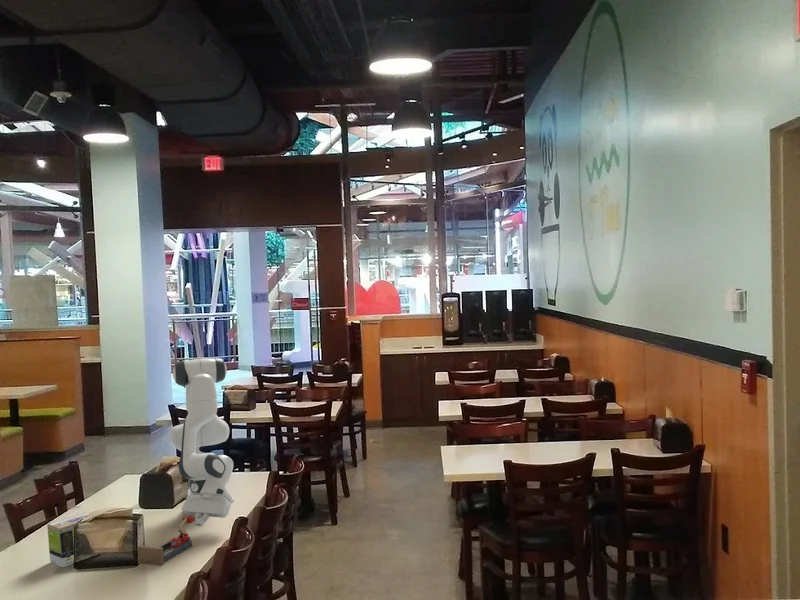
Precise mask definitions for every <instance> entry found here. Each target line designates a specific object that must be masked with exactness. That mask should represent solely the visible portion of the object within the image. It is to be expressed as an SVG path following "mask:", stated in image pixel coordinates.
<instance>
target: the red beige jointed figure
mask: <svg viewBox="0 0 800 600" xmlns="http://www.w3.org/2000/svg"><path fill="white" fill-rule="evenodd" d="M193 522H195V516H191V515H186V516H183V517H182V522H181V523H180V524H179V525H178V526H177V529H176V530H177V531H178V532H179V535H178V536H177V537H176V538H175V537H173V538H172V540H171V539H170V540H171V548H170V550H172V549H174V548H175V547H177V546H179V545H181V544H182V543H184V542H186V541H188V540H191V537H190V536H189V534H188V533H187V532H186V530H185V528H184V526H185V525H186V524H192V523H193Z"/></svg>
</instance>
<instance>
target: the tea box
mask: <svg viewBox="0 0 800 600" xmlns="http://www.w3.org/2000/svg"><path fill="white" fill-rule="evenodd" d="M90 515H92V514H90V513H87V512H84V513H80V514H77V515H74V516H70V517H68V518H67V517H66V518H63V519H61V520H57V521H54V522H51V523H48V524H47V527H46V528H47V538H48V548H49V549H48V550H49V551H48V553H49V561H50V563H51V562H52V563H51V564H53V563H54V564H53V565H55V564H56V565H55V566H57V565H58V566H57V567H60V568H62V567H63V568H65V567H69V566H71V565H74V564H73V559H74V526H75V524H76V523H77V522H78V521H80V520H81V519H84V518H86V517H88V516H90Z"/></svg>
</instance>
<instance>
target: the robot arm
mask: <svg viewBox="0 0 800 600" xmlns="http://www.w3.org/2000/svg"><path fill="white" fill-rule="evenodd" d="M227 371H228V369H227V365H226V363H225V361H224V360H223V359H222V358H218V357H214V358H212V357H207V358H206V357H201V358H195V359H194V358H193V359H189V360H180V361H177V362H176V363H175V364H174V367H173V369H172V378H173V380H174V381H175V382H174V383H175V384H177V385H178V386H181V387H183V388H184V389H185V405H186V406H185V408H186V411H187V416H185V418H184V421H183V423H181V424H178V425H174V426H173V427H172V429H170V432H169V441H170V444H171V446H173V447H174V448H175V449H177V450H178V451H180V457H179V460H178V467H177V468H178V471H179V474H180V475H181V477H182V478H185V479H186V480H188V481H187V482H188V487H189V488H188V490H187V498H186V499H185V501H184V503H183V505H182V507H181V512H182V513H183V514H184V515H186V516H194V517H195V521H194V525H195V527H203V526H204V524H205V523H206V522H207V521H208V520H209V519H210V517H211V518H220V519H221V518H223V519H225V518H226V517H227V516H229V515H228V514H229V512H230V510H231V505H232V504H231V503H232V502H234V501H235V498H234V497H233V496H232V495H231V494H230V493H229V492H228V491H229V490H228V488H227V487H226V486H227V484H229V481H230V479H231V476H232V473H233V470H234V461H233V459H232V458H231V457H230V456H227V455H225V454H216V453H215V452H203V451H201V450H200V448H201V447H207V446H214V445H219V444H221V443H223V442H226V441H227V440H228V439H229V437H230V436H229V435H230V427H229V424H228V423H227V422H226V421H225V420H224V419H221V417H219V416H218V415H217V412H218V397H217V394H218V393H217V388H216V384H217V383H220V382H223V381H224V380H225V379H226V376H227ZM215 383H216V384H215Z"/></svg>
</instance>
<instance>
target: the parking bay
mask: <svg viewBox="0 0 800 600" xmlns="http://www.w3.org/2000/svg"><path fill="white" fill-rule="evenodd" d="M172 539H173V538H172ZM172 539H169V540H168V541H166V542H164V543H162V544H160V545H158V546H152V545H141V544H140V545H138V546H137V557H138V556H139V562H140V563H139V562H138V563H139V564H142V565H143V564H144V565H150V566H151V565H152V566H159V567H162V566H164V565H165V563H166V562H168V561H170V560H172V559H173V558H175V557H176V555H177V556H178V555H180V554H182V553H184V552H185V551H187V550H189V549H190V548H192V547H193V540H192V539H190V540H188V541H186V542H184V543H182V544H181V545H179V546H177V547H175V548H174V549H172V550H171V540H172ZM166 550H167V551H166ZM168 550H169V551H168Z"/></svg>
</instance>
